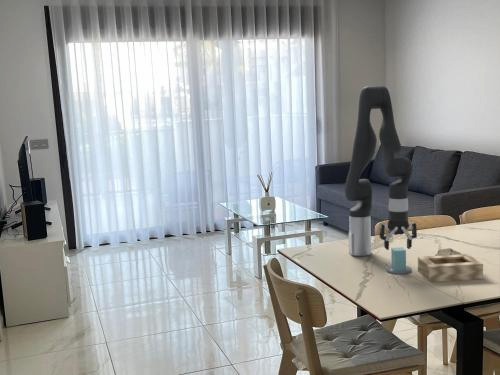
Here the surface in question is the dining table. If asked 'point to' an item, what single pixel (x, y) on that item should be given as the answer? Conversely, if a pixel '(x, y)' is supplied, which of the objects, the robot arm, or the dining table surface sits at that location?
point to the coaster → (391, 270)
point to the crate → (450, 268)
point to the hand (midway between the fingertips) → (397, 248)
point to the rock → (447, 252)
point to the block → (398, 258)
